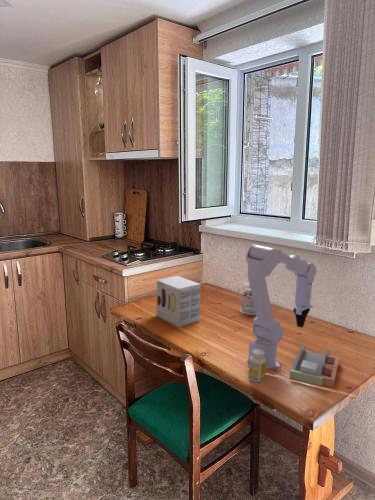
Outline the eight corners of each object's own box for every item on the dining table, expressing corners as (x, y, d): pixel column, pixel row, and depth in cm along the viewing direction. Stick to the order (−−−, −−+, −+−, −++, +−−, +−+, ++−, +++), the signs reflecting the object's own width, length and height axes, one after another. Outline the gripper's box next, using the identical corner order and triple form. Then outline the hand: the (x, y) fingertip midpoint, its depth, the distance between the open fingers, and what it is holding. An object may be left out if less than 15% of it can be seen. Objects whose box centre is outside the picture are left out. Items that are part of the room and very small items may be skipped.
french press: (261, 315, 183) (264, 265, 178) (237, 314, 183) (240, 264, 179) (258, 308, 193) (261, 260, 188) (235, 307, 193) (237, 260, 188)
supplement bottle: (250, 382, 123) (252, 355, 121) (246, 374, 128) (248, 348, 126) (266, 382, 123) (268, 355, 122) (262, 373, 129) (263, 347, 127)
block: (315, 381, 124) (316, 369, 123) (299, 377, 126) (300, 366, 125) (317, 374, 128) (318, 363, 127) (302, 370, 130) (303, 359, 130)
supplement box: (155, 316, 179) (155, 279, 175) (176, 310, 187) (177, 275, 184) (178, 327, 166) (179, 288, 162) (200, 320, 174) (201, 283, 171)
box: (301, 351, 146) (302, 344, 146) (339, 359, 140) (340, 352, 140) (289, 379, 126) (290, 370, 125) (333, 390, 120) (333, 381, 119)
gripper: (311, 299, 134) (307, 335, 137) (316, 289, 147) (313, 322, 150) (291, 296, 137) (288, 331, 140) (298, 286, 150) (295, 318, 153)
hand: (300, 326), depth 145 cm, fingers closed
